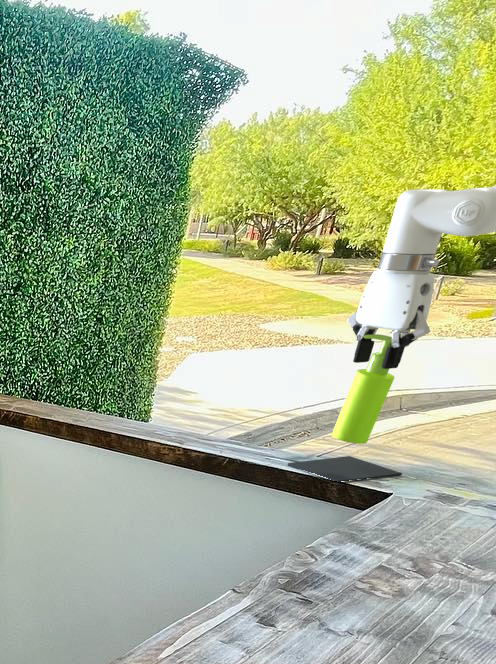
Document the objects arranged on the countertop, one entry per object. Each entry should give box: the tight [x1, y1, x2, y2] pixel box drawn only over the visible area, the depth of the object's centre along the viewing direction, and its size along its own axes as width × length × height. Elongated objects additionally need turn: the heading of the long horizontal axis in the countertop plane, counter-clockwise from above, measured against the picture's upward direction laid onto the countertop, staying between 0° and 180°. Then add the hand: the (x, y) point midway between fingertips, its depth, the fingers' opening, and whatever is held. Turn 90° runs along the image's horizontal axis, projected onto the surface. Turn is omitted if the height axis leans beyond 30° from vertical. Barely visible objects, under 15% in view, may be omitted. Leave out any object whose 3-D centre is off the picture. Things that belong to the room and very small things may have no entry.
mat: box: [287, 455, 403, 482], centre depth 152 cm, size 16×11×1 cm
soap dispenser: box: [331, 333, 395, 445], centre depth 146 cm, size 6×7×20 cm
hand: (375, 364), depth 144 cm, fingers closed on soap dispenser, 4 cm apart
